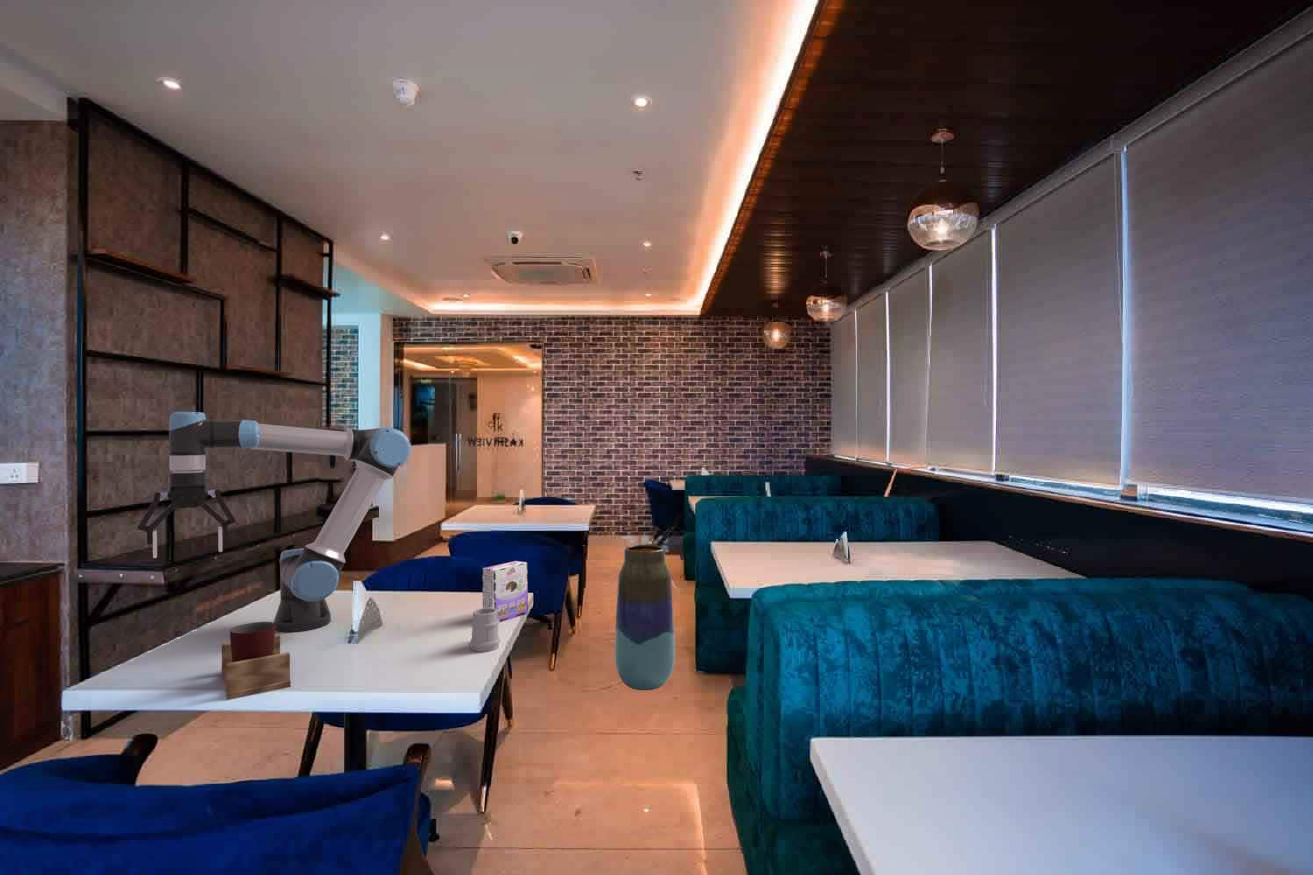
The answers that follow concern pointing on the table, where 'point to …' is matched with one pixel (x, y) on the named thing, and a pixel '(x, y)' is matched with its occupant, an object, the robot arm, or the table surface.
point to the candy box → (506, 589)
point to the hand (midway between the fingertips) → (188, 554)
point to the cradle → (255, 672)
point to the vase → (644, 619)
